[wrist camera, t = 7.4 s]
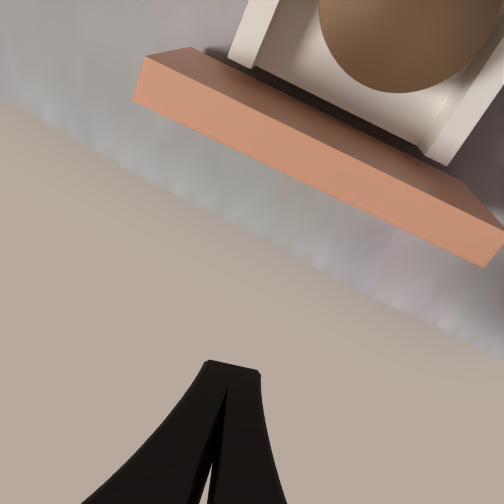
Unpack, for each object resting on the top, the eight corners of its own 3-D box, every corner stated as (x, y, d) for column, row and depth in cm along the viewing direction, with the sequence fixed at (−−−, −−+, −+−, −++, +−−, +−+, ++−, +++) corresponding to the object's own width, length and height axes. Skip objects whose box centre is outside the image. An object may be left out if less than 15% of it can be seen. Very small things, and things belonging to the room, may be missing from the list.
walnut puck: (508, -43, 13) (548, -56, 11) (416, 106, 15) (434, 121, 13) (368, -123, 13) (379, -152, 10) (293, 43, 15) (289, 47, 12)
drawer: (651, -84, 13) (818, -136, 9) (442, 207, 17) (483, 268, 13) (303, -285, 12) (297, -455, 8) (179, 79, 16) (131, 100, 12)
